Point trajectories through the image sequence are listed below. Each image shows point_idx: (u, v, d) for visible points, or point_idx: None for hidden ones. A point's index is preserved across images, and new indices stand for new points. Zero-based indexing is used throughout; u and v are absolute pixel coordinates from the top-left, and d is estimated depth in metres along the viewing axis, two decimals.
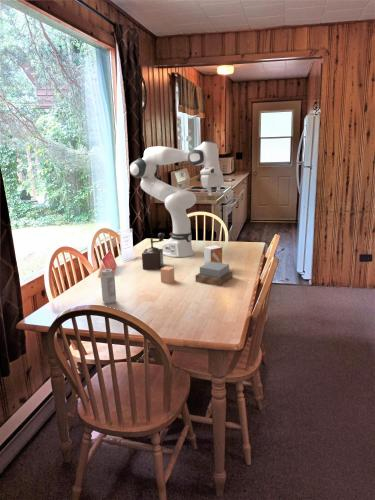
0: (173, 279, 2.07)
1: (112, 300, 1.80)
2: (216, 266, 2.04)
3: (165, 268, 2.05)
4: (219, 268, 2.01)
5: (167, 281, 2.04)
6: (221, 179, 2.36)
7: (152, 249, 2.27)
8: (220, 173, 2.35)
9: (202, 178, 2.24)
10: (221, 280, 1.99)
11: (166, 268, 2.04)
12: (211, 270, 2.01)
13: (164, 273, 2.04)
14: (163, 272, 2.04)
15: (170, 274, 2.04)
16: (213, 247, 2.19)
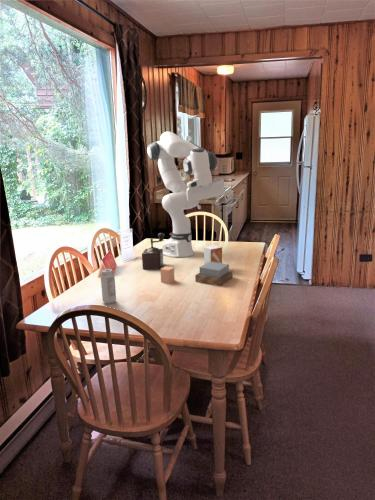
0: (173, 279, 2.07)
1: (112, 300, 1.80)
2: (216, 266, 2.04)
3: (165, 268, 2.05)
4: (219, 268, 2.01)
5: (167, 281, 2.04)
6: (219, 190, 2.07)
7: (152, 249, 2.27)
8: (217, 183, 2.06)
9: (186, 191, 2.08)
10: (221, 280, 1.99)
11: (166, 268, 2.04)
12: (211, 270, 2.01)
13: (164, 273, 2.04)
14: (163, 272, 2.04)
15: (170, 274, 2.04)
16: (213, 247, 2.19)
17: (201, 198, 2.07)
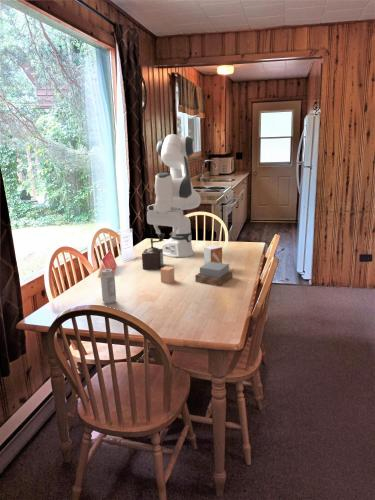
0: (173, 279, 2.07)
1: (112, 300, 1.80)
2: (216, 266, 2.04)
3: (165, 268, 2.05)
4: (219, 268, 2.01)
5: (167, 281, 2.04)
6: (175, 221, 1.94)
7: (152, 249, 2.27)
8: (173, 213, 1.93)
9: None
10: (221, 280, 1.99)
11: (166, 268, 2.04)
12: (211, 270, 2.01)
13: (164, 273, 2.04)
14: (163, 272, 2.04)
15: (170, 274, 2.04)
16: (213, 247, 2.19)
17: (158, 223, 1.99)
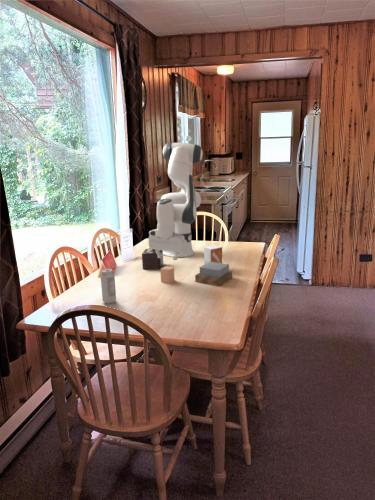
0: (173, 279, 2.07)
1: (112, 300, 1.80)
2: (216, 266, 2.04)
3: (165, 268, 2.05)
4: (219, 268, 2.01)
5: (167, 281, 2.04)
6: (176, 246, 1.97)
7: (152, 249, 2.27)
8: (175, 239, 1.96)
9: None
10: (221, 280, 1.99)
11: (166, 268, 2.04)
12: (211, 270, 2.01)
13: (164, 273, 2.04)
14: (163, 272, 2.04)
15: (170, 274, 2.04)
16: (213, 247, 2.19)
17: (160, 248, 2.02)
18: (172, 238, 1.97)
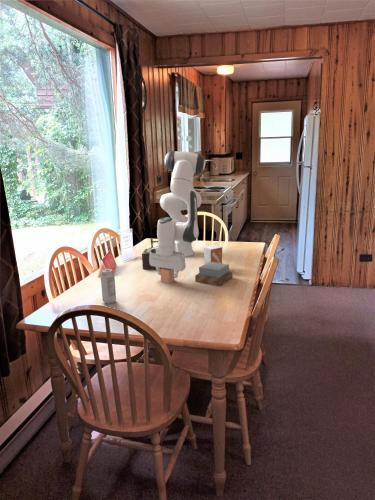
0: (173, 279, 2.07)
1: (112, 300, 1.80)
2: (216, 266, 2.04)
3: (165, 268, 2.05)
4: (219, 268, 2.01)
5: (167, 281, 2.04)
6: (176, 264, 1.99)
7: None
8: (175, 257, 1.99)
9: None
10: (221, 280, 1.99)
11: (166, 268, 2.04)
12: (210, 270, 2.01)
13: (164, 273, 2.04)
14: (163, 272, 2.04)
15: (170, 274, 2.04)
16: (213, 247, 2.19)
17: (160, 266, 2.05)
18: (172, 256, 2.00)
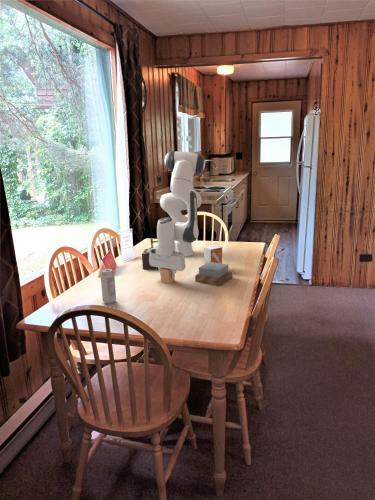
0: (173, 279, 2.07)
1: (112, 300, 1.80)
2: (215, 266, 2.04)
3: (165, 268, 2.05)
4: (218, 268, 2.01)
5: (167, 281, 2.04)
6: (176, 264, 1.99)
7: None
8: (175, 257, 1.99)
9: None
10: (221, 280, 1.99)
11: None
12: (210, 270, 2.00)
13: (164, 273, 2.04)
14: (163, 272, 2.04)
15: (170, 274, 2.04)
16: (213, 247, 2.19)
17: (160, 266, 2.05)
18: (172, 257, 2.00)
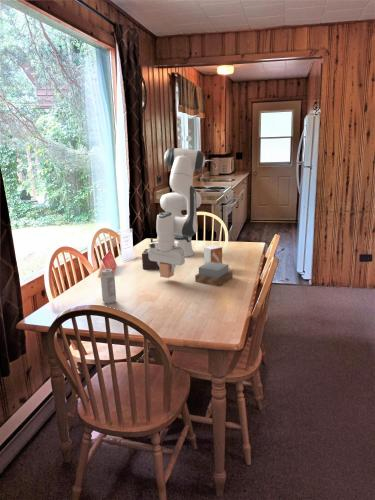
0: (172, 274, 2.06)
1: (112, 300, 1.80)
2: (215, 266, 2.04)
3: (164, 263, 2.05)
4: (218, 268, 2.01)
5: (166, 276, 2.04)
6: (175, 259, 1.99)
7: None
8: (174, 252, 1.98)
9: None
10: (221, 280, 1.99)
11: (165, 263, 2.04)
12: (210, 270, 2.01)
13: (163, 268, 2.04)
14: (162, 266, 2.04)
15: (169, 269, 2.03)
16: (213, 247, 2.19)
17: (159, 260, 2.05)
18: (171, 251, 1.99)
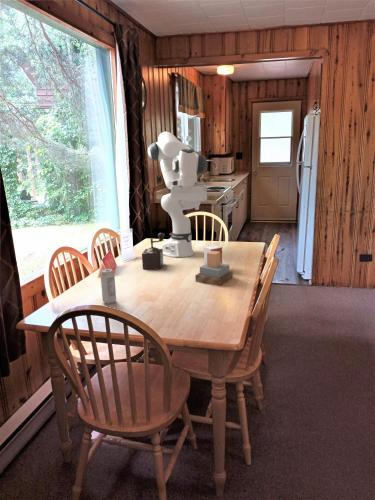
0: (219, 263, 2.06)
1: (112, 300, 1.80)
2: None
3: (211, 252, 2.04)
4: (219, 268, 2.01)
5: (214, 265, 2.03)
6: (198, 195, 2.02)
7: (152, 249, 2.27)
8: (197, 188, 2.01)
9: None
10: (221, 280, 1.99)
11: (212, 253, 2.03)
12: (211, 270, 2.01)
13: (210, 258, 2.03)
14: (209, 256, 2.03)
15: (217, 258, 2.03)
16: (213, 247, 2.19)
17: (181, 198, 2.08)
18: (194, 187, 2.02)
